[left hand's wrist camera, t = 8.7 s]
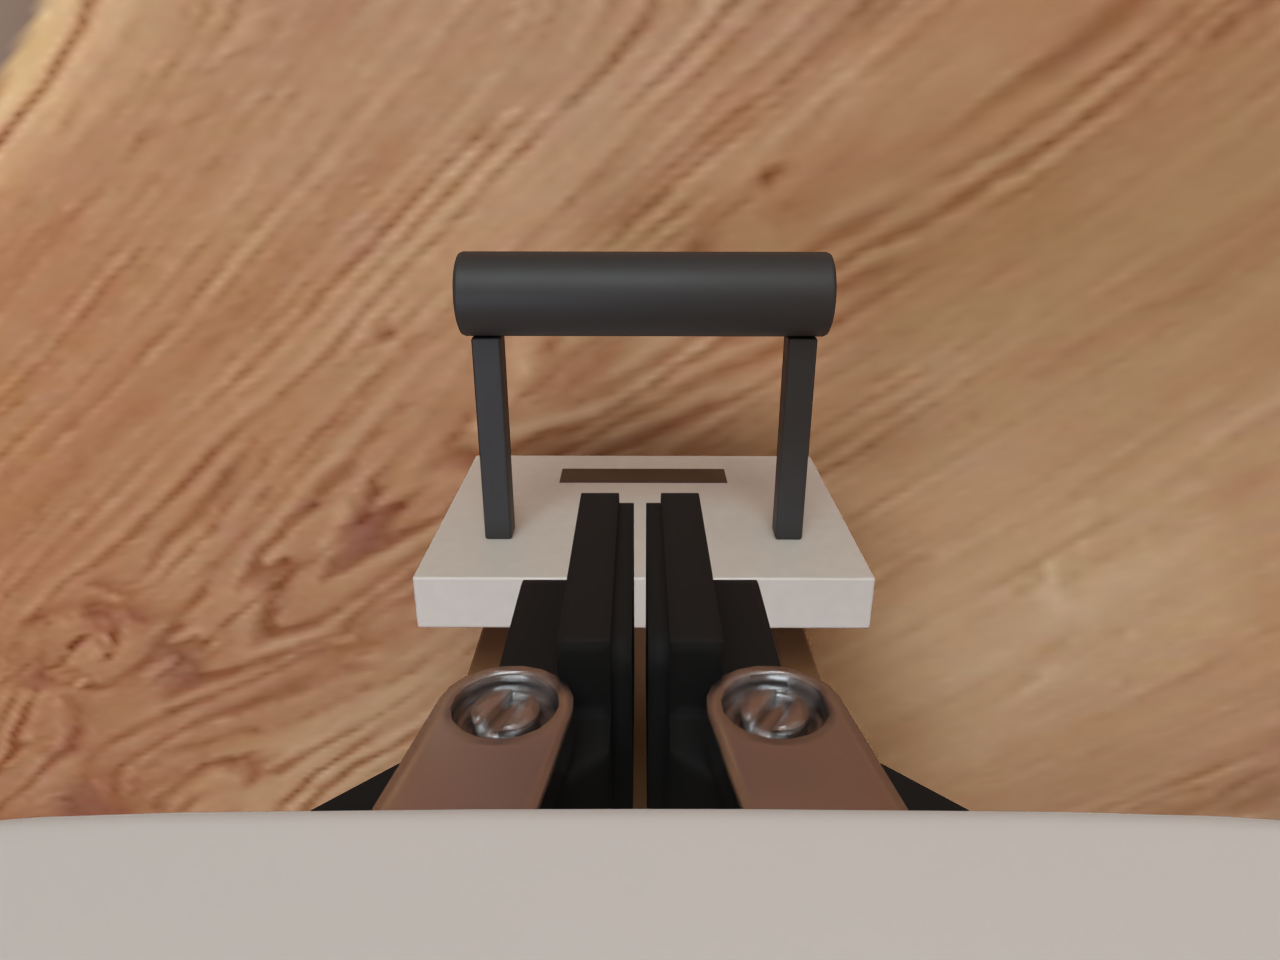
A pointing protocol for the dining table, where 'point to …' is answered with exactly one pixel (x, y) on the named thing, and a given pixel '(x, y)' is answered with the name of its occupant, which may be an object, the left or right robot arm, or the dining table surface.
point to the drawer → (727, 485)
